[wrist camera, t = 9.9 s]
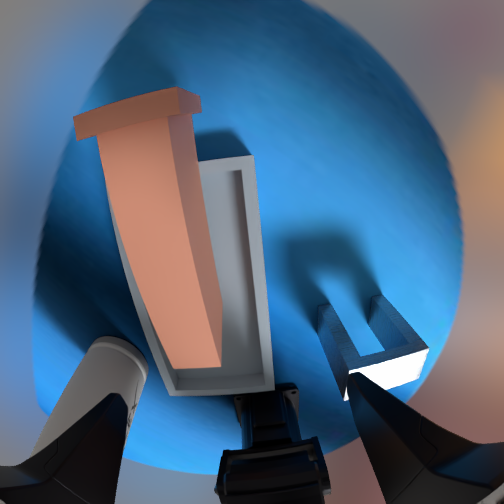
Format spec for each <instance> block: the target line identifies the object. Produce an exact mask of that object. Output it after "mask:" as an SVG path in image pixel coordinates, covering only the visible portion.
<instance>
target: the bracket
mask: <svg viewBox="0 0 504 504" xmlns="http://www.w3.org/2000/svg"><path fill="white" fill-rule="evenodd" d="M368 325H369V327H370V328H371V330H372V331H373V333H374V334H375V336H376V337H377V339H378V340H379V342H380V343H381V345H382V346H383V348H384V349H385V351H382V352H378V353H374V354H370V355H366V356H362V357H360V355H359V353H358V351H357V349H356V347H355V346H354V344H353V342H352V340H351V338H350V337H349V335H348V333H347V331H346V329H345V328H344V326H343V324H342V322H341V321H340V319H339V317H338V315H337V313H336V312H335V310H334V308H333V306H332V305H331V304H326V305H319V306H318V332H317V335H318V337H319V340H320V342H321V345H322V347H323V350H324V352H325V355H326V357H327V359H328V362H329V365H330V367H331V370H332V372H333V375H334V377H335V380H336V382H337V385H338V387H339V390H340V393H341V395H342V398H343V400H344V401H345V400H349V398H348V395H347V389H346V388H347V380H348V375H349V374H350V373H353V372H357V371H359V372H361V373H362V374H364V375H365V376H367V377H368V378H369V379H371V380H372V381H374V382H375V383H376V384H378V385H379V386H381V387H382V388H384V389H385V390H386V389H389V388H393V387H396V386H399V385H402V384H405V383H408V382H410V381H413V380H416V379H418V378H419V375H420V373H421V370H422V367H423V365H424V362H425V359H426V356H427V353H428V350H429V347H428V346H427V345H426V344H425V342H424V341H423V340H422V339H421V338H420V336H419V335H418V334H417V333H416V332H415V331H414V329H413V328H412V327H411V326H410V325H409V324H408V322H407V321H406V320H405V319H404V318H403V317H402V316H401V314H400V313H399V312H398V311H397V310H396V309H395V308H394V307H393V305H392V304H391V303H390V302H389V301H388V300H387V299H386V298H385V297H384V296H383V295H378V296H373V297H372V300H371V308H370V316H369V323H368Z"/></svg>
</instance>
